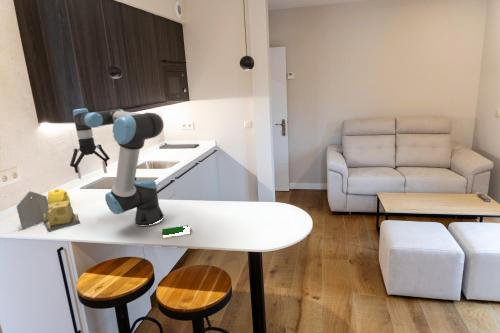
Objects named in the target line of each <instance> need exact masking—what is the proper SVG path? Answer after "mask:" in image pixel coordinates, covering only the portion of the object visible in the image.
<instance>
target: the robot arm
mask: <svg viewBox="0 0 500 333" xmlns="http://www.w3.org/2000/svg"><path fill="white" fill-rule="evenodd" d="M72 115H73V116H72V118H73V120H74V126H75V130H76V135H77V138H78V140H77V141H78V145H79V148H78V147H77V148H76V147H74V148H73V155H72V157H71V161H70V164H69V166H70V167H72V168H74V172H75V173H76V174H77V178H78V179H82V174H81V170H80V166H79V164H80V163H81V161H82V159H83V158H84V157H85V156H89V155H93V154H94V155H95V156H97V157H98V158H99V159H101V163H102V170H103V173H104V174H107V173H108V172H107V167H108V161H110V159H111V158H110V156H108V154H107V153H106V151H105V150H104V149H103V148H102V145H101V144H95V138H94V133H93V129H94V128H100V127H104V126H108V125H109V126H111V125H112V133H113V134H112V135H113V139H114V140H115V141H116V143H117V145H118V146H119V154H118V161H117V169H116V177H115V182H114V184H112V186H111V190H110V191H108V192H107V193H105V195H104V196H105V198H104V199H105V202H106V205H107V207H108V209H109V210H110V211H111V213H113V214H114V215H119V214H123V213H125V212H128V211H130V210H133V209H136V211H135V217H134V222H135V225H136V224H138V225H149V224H153V223H155V222H157V221H159V220H161V219H162V218H163V216H164V213H163V211H162V209H161V207H160V203H159V198H158V197H159V196H158V187H157V183H156V181H154V180H153V179H143V178H142V179H136V175H137V170H138V169H137V168H138V163H139V162H138V161H139V156H140V150H141V149H143V147H144V146H145V141H146V140H149V139H154V138H157V137H158V136H159V135H160V134H161V133H162V132H163V129H164V124H165V123H164V121H163V118H162V117H161V115H159V114H157V113H155V112H145V113H139V112H137V113H136V112H131V111H125V110H124V109H121V108H119V109H117V108H116V109H110V110H102V111H93V112H89V110H88V108H77V109H73V110H72ZM97 149H98V150H99V151H100V152H101V154H102V155H103V156H102V155H101V154H100V152H97V151H96V150H97ZM79 152H80V154H79V156H78V153H79ZM77 156H78V158H77ZM138 225H137V226H138Z"/></svg>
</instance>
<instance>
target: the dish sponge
mask: <svg viewBox="0 0 500 333" xmlns="http://www.w3.org/2000/svg"><path fill="white" fill-rule="evenodd" d="M183 226H184V225H181V226H180V227H179V226H174V227H167V228H162V229H161V231H162V232H161V236H162V235H169V234H175V233H179V232H183V230H184V229H185V228H183ZM185 226H187V227H188V224H187V225H185Z"/></svg>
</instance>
